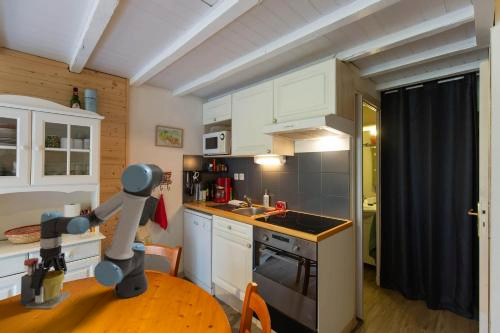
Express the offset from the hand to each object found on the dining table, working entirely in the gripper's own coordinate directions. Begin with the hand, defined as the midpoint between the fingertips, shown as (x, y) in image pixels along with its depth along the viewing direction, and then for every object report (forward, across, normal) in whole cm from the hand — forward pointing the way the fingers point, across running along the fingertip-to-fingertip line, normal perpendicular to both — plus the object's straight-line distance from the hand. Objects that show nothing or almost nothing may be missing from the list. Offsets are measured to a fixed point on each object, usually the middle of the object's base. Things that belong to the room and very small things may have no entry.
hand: (49, 295), depth 108 cm
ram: (-3, 0, -8) cm, 9 cm away
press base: (+3, 0, -3) cm, 4 cm away
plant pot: (+1, 0, 0) cm, 1 cm away
